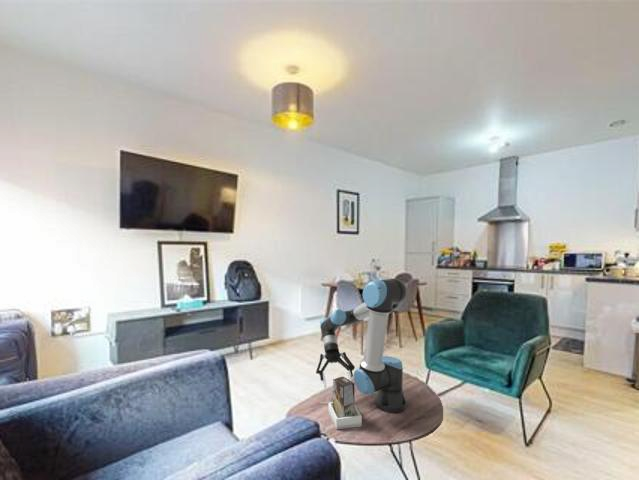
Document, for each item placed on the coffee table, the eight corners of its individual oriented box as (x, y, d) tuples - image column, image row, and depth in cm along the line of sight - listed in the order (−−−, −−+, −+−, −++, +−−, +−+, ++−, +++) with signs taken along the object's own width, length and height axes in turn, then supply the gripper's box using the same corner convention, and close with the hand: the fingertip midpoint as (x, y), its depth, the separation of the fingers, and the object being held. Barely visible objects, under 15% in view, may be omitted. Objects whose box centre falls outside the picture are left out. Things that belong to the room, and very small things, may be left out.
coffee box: (355, 418, 145) (355, 383, 145) (344, 422, 142) (344, 386, 142) (343, 409, 153) (343, 375, 153) (332, 413, 150) (332, 379, 150)
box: (351, 408, 156) (351, 399, 156) (361, 426, 141) (361, 416, 141) (328, 411, 153) (328, 402, 153) (336, 429, 139) (336, 419, 139)
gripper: (351, 347, 178) (360, 385, 164) (307, 350, 173) (312, 391, 158) (354, 340, 173) (364, 379, 159) (309, 343, 168) (314, 385, 153)
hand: (338, 385), depth 158 cm, fingers open, 13 cm apart
